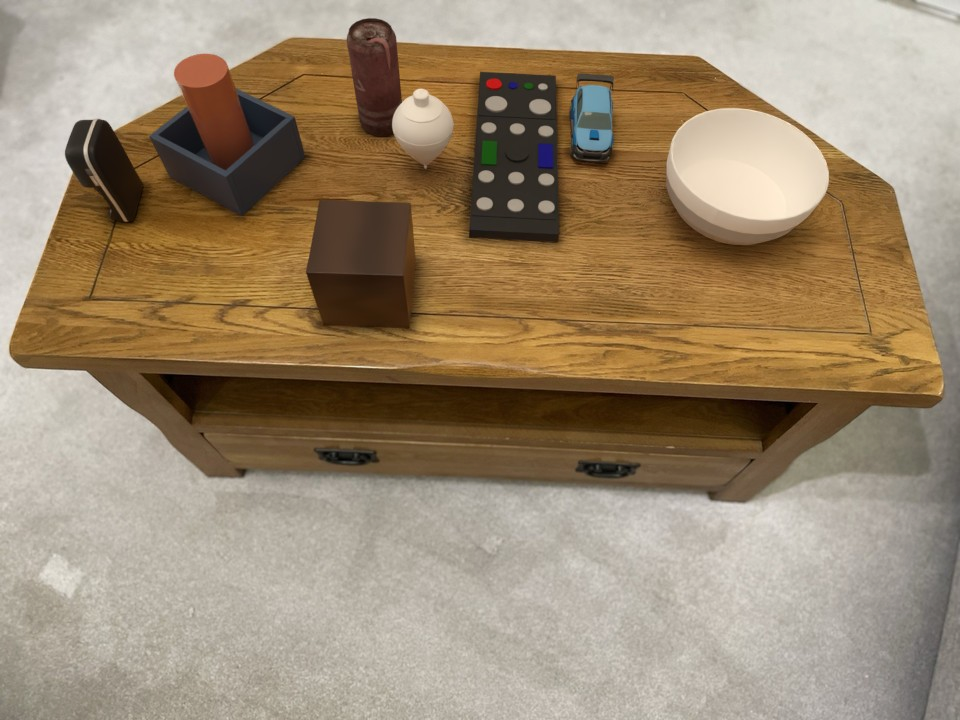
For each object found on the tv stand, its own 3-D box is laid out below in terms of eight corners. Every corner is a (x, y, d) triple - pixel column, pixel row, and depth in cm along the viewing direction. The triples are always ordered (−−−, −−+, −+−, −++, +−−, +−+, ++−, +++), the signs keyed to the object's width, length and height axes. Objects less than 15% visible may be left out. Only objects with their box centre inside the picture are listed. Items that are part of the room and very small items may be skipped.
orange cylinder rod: (265, 169, 87) (234, 77, 75) (221, 184, 86) (181, 93, 74) (251, 141, 90) (218, 47, 78) (207, 155, 88) (167, 62, 76)
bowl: (817, 197, 89) (850, 146, 81) (766, 292, 80) (797, 246, 73) (687, 140, 93) (708, 87, 86) (627, 225, 85) (643, 175, 78)
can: (385, 144, 91) (374, 53, 79) (351, 124, 93) (335, 32, 81) (413, 121, 94) (407, 29, 82) (380, 102, 96) (368, 9, 84)
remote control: (554, 84, 99) (556, 72, 97) (557, 242, 84) (559, 231, 82) (479, 80, 99) (480, 68, 97) (469, 237, 84) (469, 226, 82)
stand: (323, 325, 76) (305, 272, 68) (334, 257, 81) (319, 199, 73) (409, 328, 77) (403, 275, 68) (415, 259, 82) (410, 202, 73)
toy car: (568, 165, 90) (574, 132, 85) (568, 106, 96) (574, 72, 91) (611, 168, 90) (620, 135, 85) (609, 109, 96) (617, 74, 91)
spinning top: (386, 161, 90) (377, 85, 79) (435, 140, 92) (432, 64, 82) (414, 197, 87) (408, 123, 76) (464, 175, 89) (465, 100, 78)
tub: (242, 216, 84) (225, 177, 78) (169, 176, 87) (148, 136, 82) (305, 157, 90) (294, 116, 84) (235, 122, 93) (219, 80, 87)
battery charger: (115, 184, 87) (71, 112, 77) (145, 183, 87) (104, 111, 77) (103, 225, 83) (54, 155, 73) (134, 224, 83) (90, 154, 73)
